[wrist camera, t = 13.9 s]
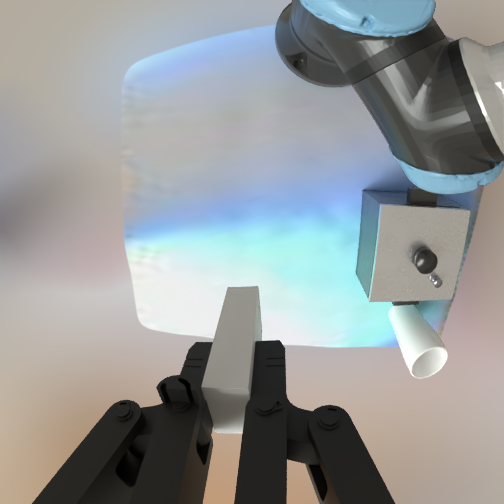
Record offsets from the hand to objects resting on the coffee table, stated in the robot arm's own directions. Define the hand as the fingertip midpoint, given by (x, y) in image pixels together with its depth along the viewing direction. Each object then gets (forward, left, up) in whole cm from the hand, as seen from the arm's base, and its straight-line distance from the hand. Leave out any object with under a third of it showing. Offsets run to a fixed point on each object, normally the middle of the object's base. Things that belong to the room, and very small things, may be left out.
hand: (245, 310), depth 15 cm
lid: (+7, +22, -24) cm, 33 cm away
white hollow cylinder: (+22, +25, -32) cm, 47 cm away
